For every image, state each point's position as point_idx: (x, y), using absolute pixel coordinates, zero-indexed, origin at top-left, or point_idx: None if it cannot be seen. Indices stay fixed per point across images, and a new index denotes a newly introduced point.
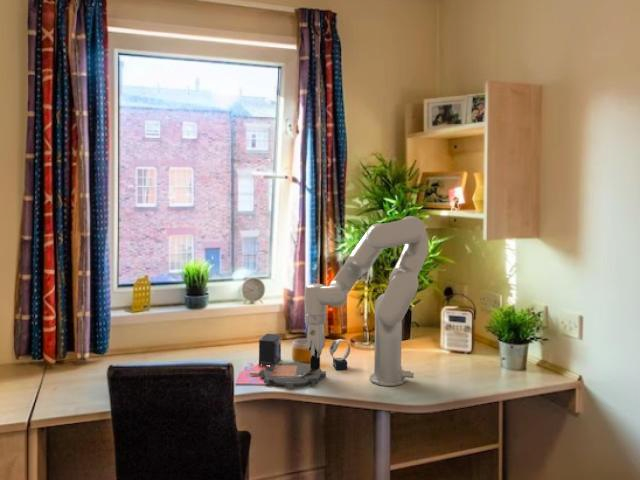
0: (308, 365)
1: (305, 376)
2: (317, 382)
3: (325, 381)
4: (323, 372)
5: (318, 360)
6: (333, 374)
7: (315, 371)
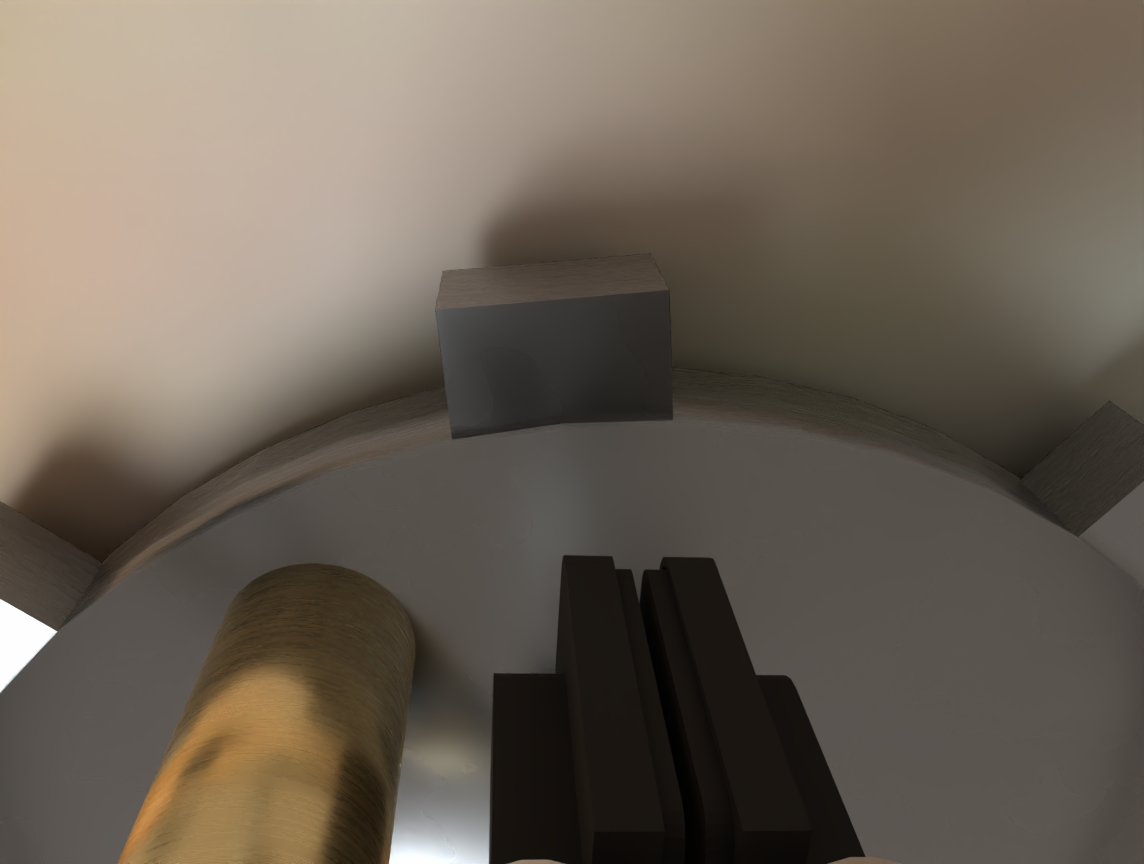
0: (60, 833)
1: (985, 755)
2: (1131, 416)
3: (765, 229)
4: (567, 370)
5: (781, 783)
6: (115, 60)
7: (553, 597)
